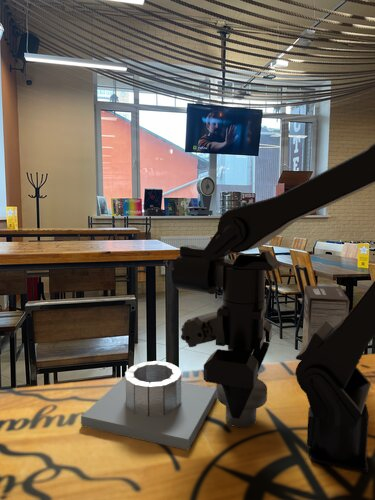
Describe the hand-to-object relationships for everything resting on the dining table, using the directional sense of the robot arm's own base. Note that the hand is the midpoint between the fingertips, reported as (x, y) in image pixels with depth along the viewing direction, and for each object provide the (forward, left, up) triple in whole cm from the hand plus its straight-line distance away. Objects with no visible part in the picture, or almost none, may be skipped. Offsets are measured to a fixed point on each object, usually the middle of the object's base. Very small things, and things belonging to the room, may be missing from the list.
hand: (241, 403), depth 55 cm
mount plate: (+13, +2, -2) cm, 13 cm away
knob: (0, 0, -2) cm, 2 cm away
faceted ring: (+13, +2, -1) cm, 13 cm away
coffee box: (-11, -17, -3) cm, 20 cm away
